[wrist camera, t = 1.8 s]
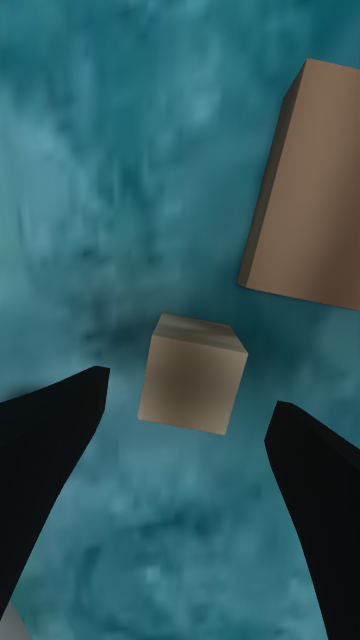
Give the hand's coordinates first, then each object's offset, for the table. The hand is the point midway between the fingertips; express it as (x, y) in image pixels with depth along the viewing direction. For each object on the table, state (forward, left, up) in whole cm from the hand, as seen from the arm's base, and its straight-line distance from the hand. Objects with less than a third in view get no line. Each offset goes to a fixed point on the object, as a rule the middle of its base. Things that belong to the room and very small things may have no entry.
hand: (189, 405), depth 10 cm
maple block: (0, 0, -7) cm, 7 cm away
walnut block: (-7, -10, -7) cm, 14 cm away
